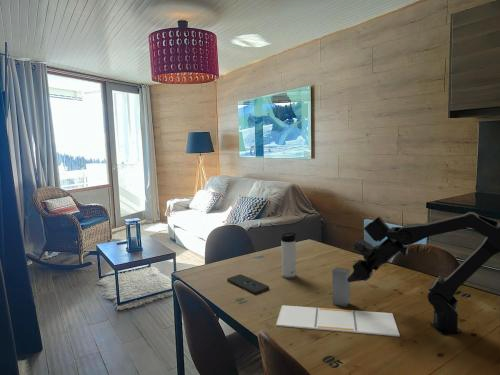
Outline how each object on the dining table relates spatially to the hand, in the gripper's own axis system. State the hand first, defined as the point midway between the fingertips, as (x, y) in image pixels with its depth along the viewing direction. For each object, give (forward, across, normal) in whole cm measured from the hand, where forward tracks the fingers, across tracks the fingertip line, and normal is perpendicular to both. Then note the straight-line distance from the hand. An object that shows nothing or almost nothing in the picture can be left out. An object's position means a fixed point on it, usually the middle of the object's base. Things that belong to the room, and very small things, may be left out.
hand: (352, 276), depth 125 cm
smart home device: (+40, +4, -23) cm, 46 cm away
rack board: (+9, +13, +7) cm, 17 cm away
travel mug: (+32, -14, -16) cm, 38 cm away
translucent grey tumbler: (+11, 0, +5) cm, 12 cm away
